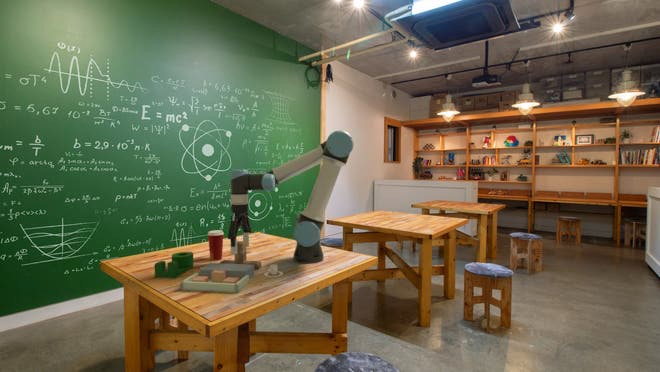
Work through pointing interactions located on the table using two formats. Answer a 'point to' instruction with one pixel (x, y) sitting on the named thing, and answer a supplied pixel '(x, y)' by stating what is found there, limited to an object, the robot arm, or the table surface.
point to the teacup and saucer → (273, 271)
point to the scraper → (242, 257)
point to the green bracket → (175, 265)
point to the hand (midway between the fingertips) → (240, 250)
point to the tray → (213, 285)
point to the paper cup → (215, 244)
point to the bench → (228, 270)
